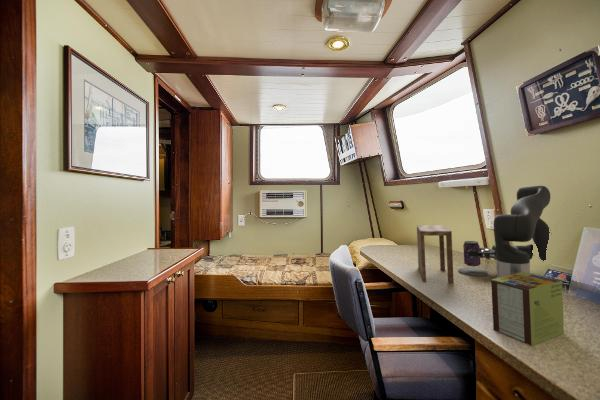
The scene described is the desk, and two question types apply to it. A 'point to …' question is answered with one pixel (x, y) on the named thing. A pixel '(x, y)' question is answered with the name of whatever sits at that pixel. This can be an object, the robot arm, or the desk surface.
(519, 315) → the protein box
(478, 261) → the beverage can
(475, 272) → the charcoal mat
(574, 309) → the desk surface
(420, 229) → the walnut shelf
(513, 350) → the desk surface
